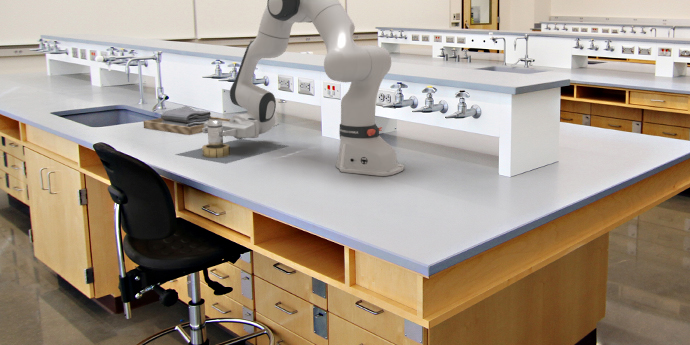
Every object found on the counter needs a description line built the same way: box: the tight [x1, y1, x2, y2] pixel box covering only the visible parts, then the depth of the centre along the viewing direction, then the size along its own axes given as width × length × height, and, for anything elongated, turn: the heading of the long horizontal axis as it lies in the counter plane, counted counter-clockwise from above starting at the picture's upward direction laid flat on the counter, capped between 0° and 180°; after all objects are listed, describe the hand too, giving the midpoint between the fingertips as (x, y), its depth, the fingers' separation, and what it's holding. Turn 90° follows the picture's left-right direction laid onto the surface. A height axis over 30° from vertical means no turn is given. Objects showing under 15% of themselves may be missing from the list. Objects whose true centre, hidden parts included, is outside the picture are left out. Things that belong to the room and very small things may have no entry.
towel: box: [160, 105, 212, 127], centre depth 273 cm, size 15×18×8 cm
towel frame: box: [142, 116, 231, 136], centre depth 271 cm, size 28×25×3 cm
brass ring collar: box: [201, 143, 230, 158], centre depth 216 cm, size 9×9×3 cm
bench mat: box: [175, 138, 288, 165], centre depth 224 cm, size 24×34×1 cm
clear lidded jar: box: [207, 120, 224, 148], centre depth 215 cm, size 5×5×12 cm
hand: (213, 132), depth 213 cm, fingers open, 8 cm apart
